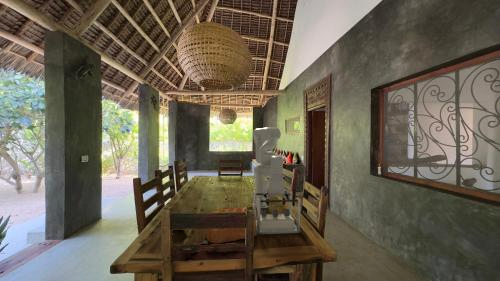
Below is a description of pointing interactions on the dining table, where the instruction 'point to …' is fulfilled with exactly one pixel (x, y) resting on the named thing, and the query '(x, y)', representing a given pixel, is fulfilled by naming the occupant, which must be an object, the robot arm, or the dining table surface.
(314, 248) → the dining table surface
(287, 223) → the switch box
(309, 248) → the dining table surface
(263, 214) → the grey rectangular block
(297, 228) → the frame
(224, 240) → the bread
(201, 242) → the lantern
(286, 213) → the grey matte cuboid
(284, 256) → the dining table surface
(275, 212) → the dark grey rectangular box
